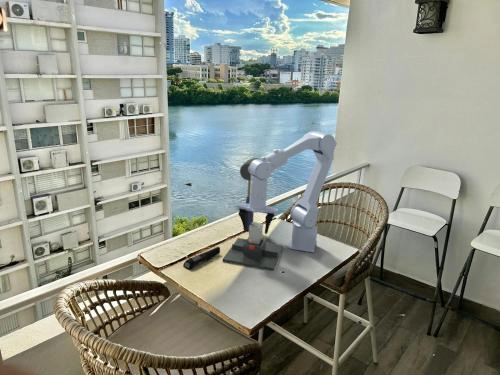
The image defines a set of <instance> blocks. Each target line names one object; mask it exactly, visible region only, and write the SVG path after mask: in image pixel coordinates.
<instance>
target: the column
mask: <svg viewBox="0 0 500 375" xmlns="http://www.w3.org/2000/svg"><path fill="white" fill-rule="evenodd" d="M263 230H264V223H261V222H255V221H253V222H252V223H251V224H250V226H249V230H248V237H249V240H248V244H252V245H257V246H261V244H262V239H263Z"/></svg>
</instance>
